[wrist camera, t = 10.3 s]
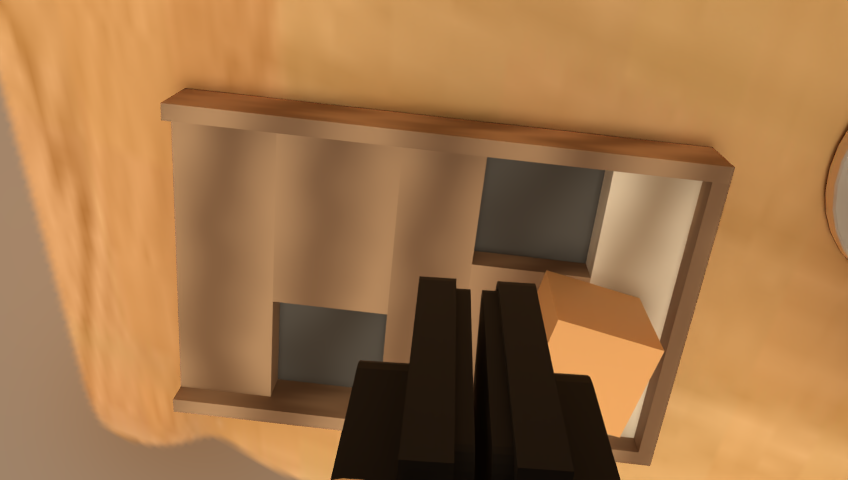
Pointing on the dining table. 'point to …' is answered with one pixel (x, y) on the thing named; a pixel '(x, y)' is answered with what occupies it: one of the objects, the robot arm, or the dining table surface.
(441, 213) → the box
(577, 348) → the orange block
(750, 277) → the dining table surface
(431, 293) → the robot arm
